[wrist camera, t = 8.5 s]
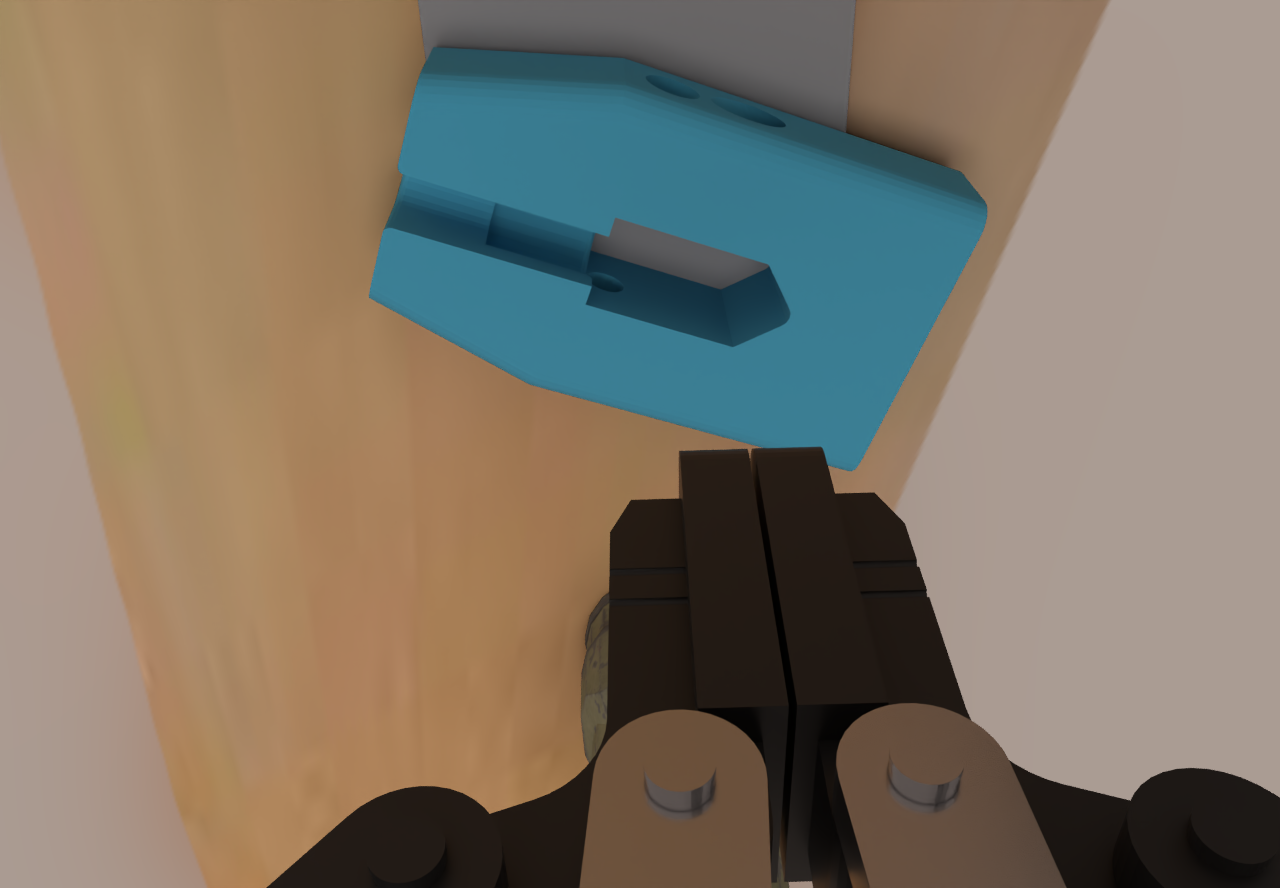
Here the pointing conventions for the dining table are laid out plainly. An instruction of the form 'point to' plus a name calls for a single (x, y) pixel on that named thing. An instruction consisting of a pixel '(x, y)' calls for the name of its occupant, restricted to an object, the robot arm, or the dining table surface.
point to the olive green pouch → (596, 691)
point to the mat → (677, 74)
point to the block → (684, 207)
